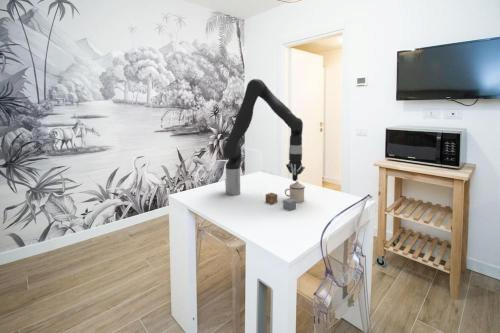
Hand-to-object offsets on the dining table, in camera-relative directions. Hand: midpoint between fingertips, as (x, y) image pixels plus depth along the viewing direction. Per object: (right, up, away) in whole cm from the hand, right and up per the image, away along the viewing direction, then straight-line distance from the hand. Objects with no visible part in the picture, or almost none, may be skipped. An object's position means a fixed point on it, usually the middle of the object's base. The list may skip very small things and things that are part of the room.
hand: (294, 180), depth 164 cm
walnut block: (-14, -13, -1) cm, 19 cm away
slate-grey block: (-5, -15, -11) cm, 19 cm away
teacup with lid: (0, -12, +3) cm, 13 cm away
